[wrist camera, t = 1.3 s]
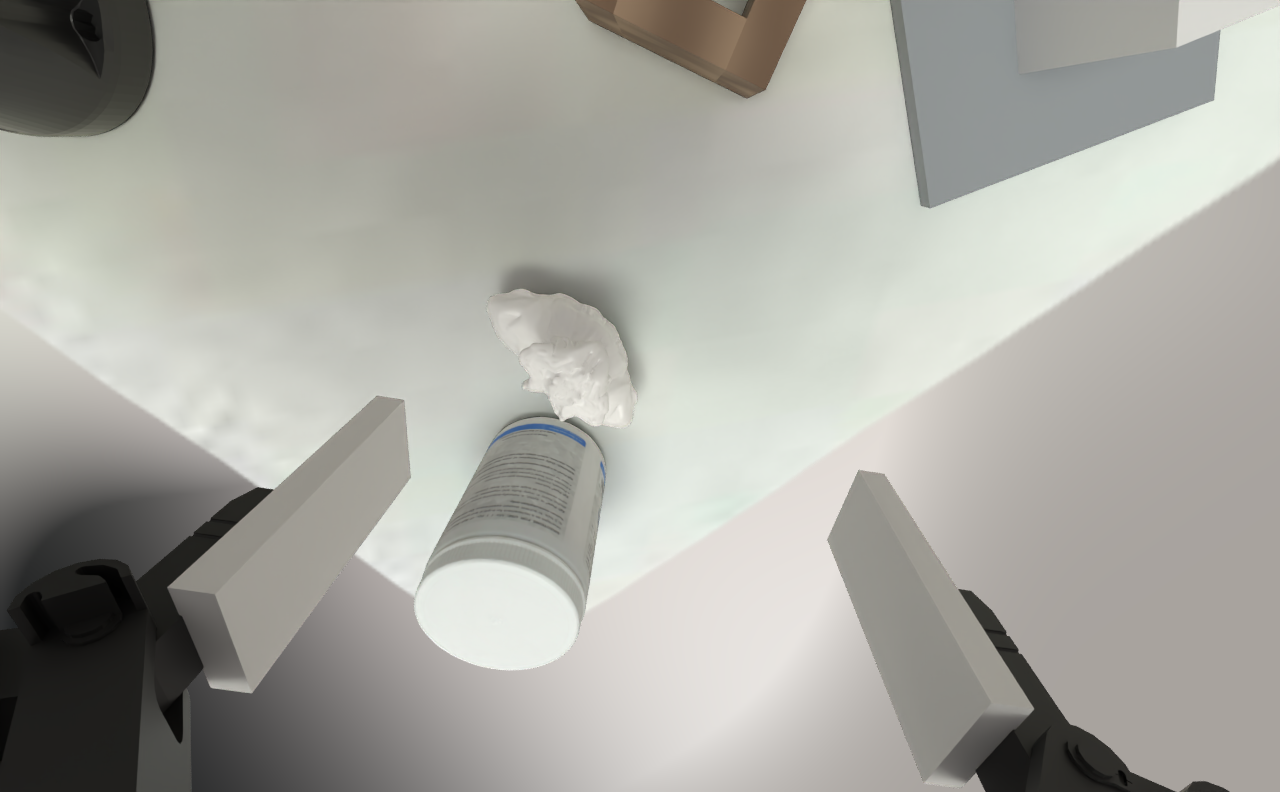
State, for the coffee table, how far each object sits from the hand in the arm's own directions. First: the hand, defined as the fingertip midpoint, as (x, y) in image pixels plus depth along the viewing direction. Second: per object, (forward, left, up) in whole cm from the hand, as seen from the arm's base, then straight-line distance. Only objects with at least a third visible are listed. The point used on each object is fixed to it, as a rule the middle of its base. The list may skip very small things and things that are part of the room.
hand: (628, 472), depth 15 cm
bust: (+2, -6, -21) cm, 22 cm away
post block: (-5, +24, -21) cm, 32 cm away
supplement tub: (+11, -13, -21) cm, 27 cm away
